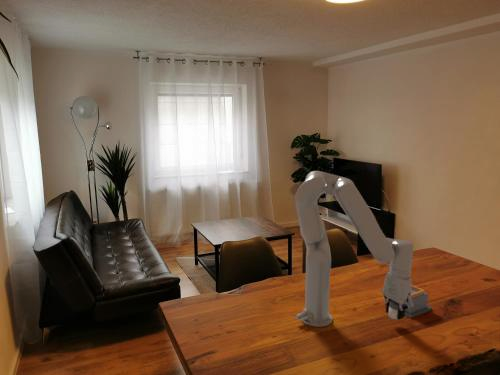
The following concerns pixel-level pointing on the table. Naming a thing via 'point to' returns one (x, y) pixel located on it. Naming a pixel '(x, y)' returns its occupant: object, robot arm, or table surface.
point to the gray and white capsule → (393, 309)
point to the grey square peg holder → (417, 303)
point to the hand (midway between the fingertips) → (394, 314)
